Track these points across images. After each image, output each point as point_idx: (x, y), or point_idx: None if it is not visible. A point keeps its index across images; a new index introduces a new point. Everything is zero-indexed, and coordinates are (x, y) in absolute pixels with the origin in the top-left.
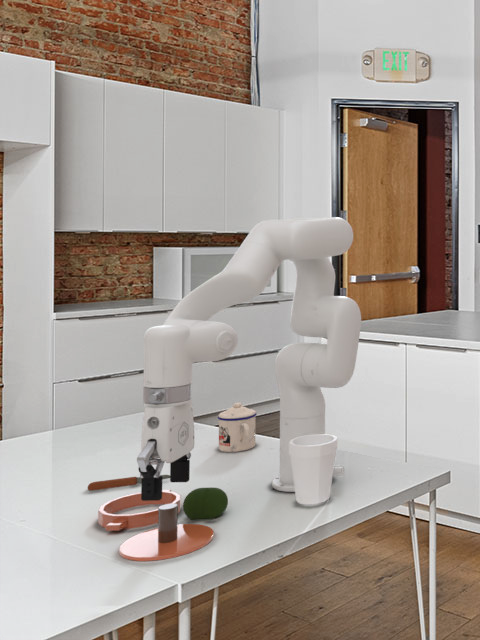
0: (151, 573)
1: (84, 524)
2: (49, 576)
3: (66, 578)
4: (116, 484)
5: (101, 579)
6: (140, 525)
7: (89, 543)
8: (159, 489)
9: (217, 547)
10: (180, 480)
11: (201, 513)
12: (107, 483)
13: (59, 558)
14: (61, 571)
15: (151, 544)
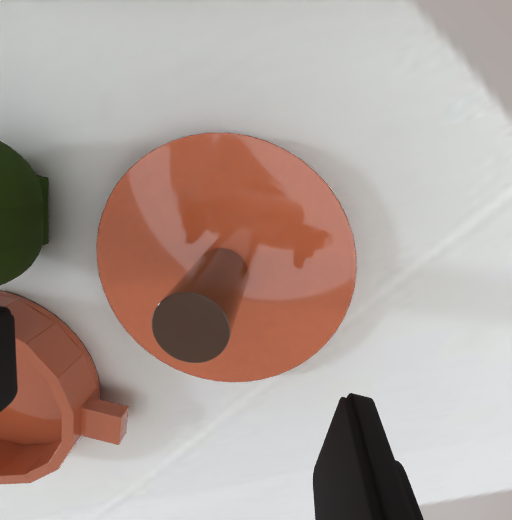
0: (418, 266)
1: None
2: None
3: None
4: None
5: (403, 372)
6: (84, 366)
7: (162, 439)
8: (392, 465)
9: (274, 106)
10: (7, 351)
11: (37, 213)
12: None
13: (238, 472)
14: (316, 454)
15: (248, 310)
